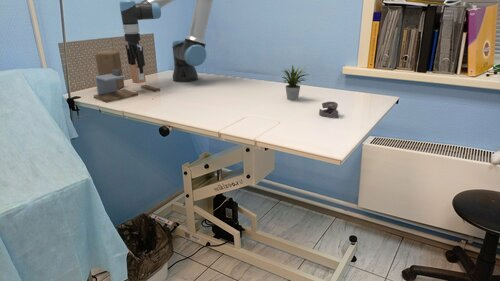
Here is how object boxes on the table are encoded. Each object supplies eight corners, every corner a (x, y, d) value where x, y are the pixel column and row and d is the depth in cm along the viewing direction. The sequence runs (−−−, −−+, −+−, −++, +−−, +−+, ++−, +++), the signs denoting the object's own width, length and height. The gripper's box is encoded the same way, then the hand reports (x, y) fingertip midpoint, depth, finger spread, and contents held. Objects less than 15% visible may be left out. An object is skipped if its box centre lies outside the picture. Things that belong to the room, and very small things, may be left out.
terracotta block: (141, 80, 194) (138, 63, 191) (146, 81, 191) (143, 64, 188) (132, 82, 191) (129, 65, 188) (137, 83, 188) (134, 66, 184)
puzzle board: (145, 86, 203) (145, 84, 202) (159, 90, 194) (159, 88, 193) (93, 97, 183) (93, 95, 182) (106, 102, 174) (106, 100, 173)
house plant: (294, 105, 163) (295, 69, 157) (271, 100, 172) (271, 65, 166) (312, 99, 173) (314, 64, 167) (289, 94, 182) (290, 61, 176)
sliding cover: (116, 90, 190) (112, 68, 185) (128, 94, 182) (124, 71, 177) (98, 94, 183) (93, 71, 178) (109, 98, 175) (105, 74, 171)
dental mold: (342, 115, 150) (343, 103, 148) (334, 119, 145) (335, 107, 143) (325, 111, 154) (326, 100, 153) (317, 115, 150) (318, 104, 148)
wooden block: (118, 90, 196) (112, 53, 188) (100, 90, 196) (93, 53, 188) (125, 86, 205) (119, 50, 197) (107, 86, 205) (101, 50, 198)
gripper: (116, 32, 185) (123, 77, 194) (134, 34, 173) (141, 82, 182) (129, 31, 190) (136, 75, 199) (148, 33, 178) (154, 79, 187)
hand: (138, 78), depth 190 cm, fingers closed on terracotta block, 5 cm apart
